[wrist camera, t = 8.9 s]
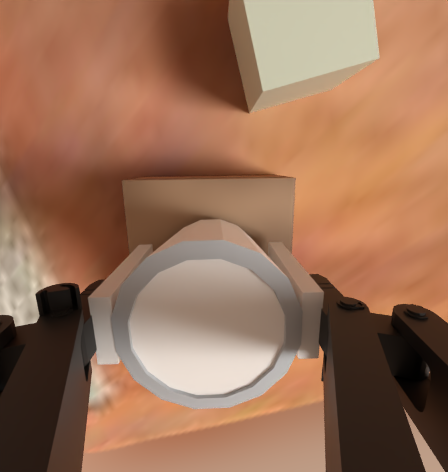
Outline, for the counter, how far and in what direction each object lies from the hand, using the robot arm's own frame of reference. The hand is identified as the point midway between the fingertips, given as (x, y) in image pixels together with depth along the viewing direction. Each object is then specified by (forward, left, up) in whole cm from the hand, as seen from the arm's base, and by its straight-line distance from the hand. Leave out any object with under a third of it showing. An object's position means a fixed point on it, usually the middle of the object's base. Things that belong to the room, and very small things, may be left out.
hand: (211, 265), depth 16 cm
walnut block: (0, 0, -6) cm, 6 cm away
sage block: (-13, +5, -6) cm, 15 cm away
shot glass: (0, 0, -1) cm, 1 cm away
